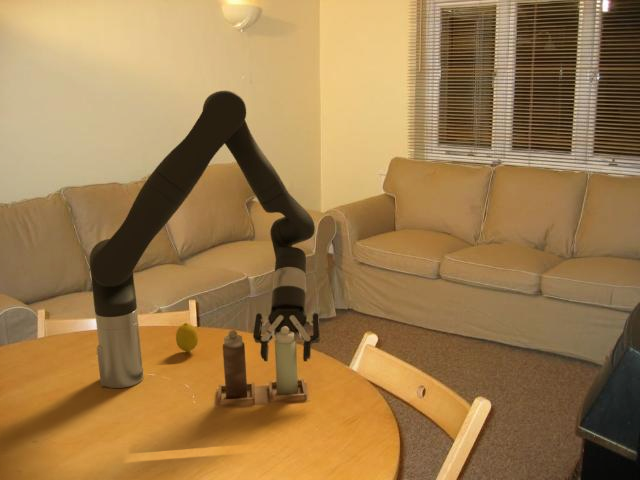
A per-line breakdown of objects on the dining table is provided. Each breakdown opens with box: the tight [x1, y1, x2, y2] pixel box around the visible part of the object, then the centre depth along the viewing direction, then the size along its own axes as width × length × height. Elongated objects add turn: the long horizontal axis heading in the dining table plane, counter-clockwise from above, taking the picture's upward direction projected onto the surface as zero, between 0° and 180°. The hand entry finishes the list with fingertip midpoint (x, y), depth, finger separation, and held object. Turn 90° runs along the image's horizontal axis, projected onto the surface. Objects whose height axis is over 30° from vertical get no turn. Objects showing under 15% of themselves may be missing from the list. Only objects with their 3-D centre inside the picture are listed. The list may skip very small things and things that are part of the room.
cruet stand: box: [214, 378, 311, 409], centre depth 157 cm, size 20×9×2 cm, turn 96°
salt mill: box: [274, 326, 299, 395], centre depth 156 cm, size 5×5×15 cm
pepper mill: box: [222, 329, 248, 399], centre depth 155 cm, size 5×5×15 cm
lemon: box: [175, 322, 199, 353], centre depth 183 cm, size 6×6×8 cm
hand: (285, 360), depth 155 cm, fingers open, 8 cm apart
